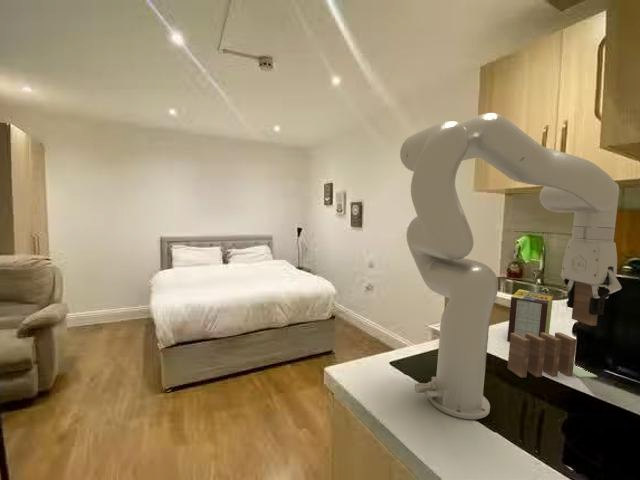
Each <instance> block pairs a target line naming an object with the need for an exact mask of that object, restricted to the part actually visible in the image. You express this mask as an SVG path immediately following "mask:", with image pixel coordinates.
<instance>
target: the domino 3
mask: <svg viewBox="0 0 640 480" xmlns="http://www.w3.org/2000/svg"><path fill="white" fill-rule="evenodd" d="M540 337H541V338H543V339H545V340H546V344H545V354H544V363H543V372H542V373H546V374H547V375H549V376H550V377H551V378H552V377H553V378H554V377H555V378H556V377H558V374H559V373H558V372H559V371H558V366H559V357H560V348H561V339H559V338H556V337H555V335H552V334H550V333H549V334H548V333H540Z"/></svg>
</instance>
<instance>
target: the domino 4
mask: <svg viewBox="0 0 640 480" xmlns="http://www.w3.org/2000/svg"><path fill="white" fill-rule="evenodd" d="M554 337H556V338H559V339H561V348H560V357H559V366H558V372H559V373H560V374H562V375H564V376H566V377H573V376H574V375H573V366H574V364H575V358H576V356H575V355H576V346H577V339H576V338H573V337H572V336H569V335H567V334H564V333H563V332H559V331H558V332H554Z"/></svg>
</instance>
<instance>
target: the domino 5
mask: <svg viewBox="0 0 640 480" xmlns="http://www.w3.org/2000/svg"><path fill="white" fill-rule="evenodd" d="M599 291H601V287H599ZM591 297H593V292H592V285H589V284H584V283H580V282H575V289H574V302H573V308H571V309H572V310H571V320H574V321H577V322H579V323H582V324H585V325H587V326H591V327H593V326H594V327H596V326H598V325H597V324H598V316H599V315H591V314H589V305H590V298H591Z"/></svg>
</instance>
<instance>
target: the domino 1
mask: <svg viewBox="0 0 640 480" xmlns="http://www.w3.org/2000/svg"><path fill="white" fill-rule="evenodd" d="M508 347H509V349H508V358H507V359H508V360H507V367H506V368H507V370H509V371H511V372H512V373H513V374H515V375H516V376H517V377H519V378H522V379H524V378H527V376H528V371H527V367H528V358H529V348H530V340H529V339H527V338H525V337H523V336H521V335H519V334H517V333H511V336H510V342H509V346H508Z"/></svg>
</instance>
